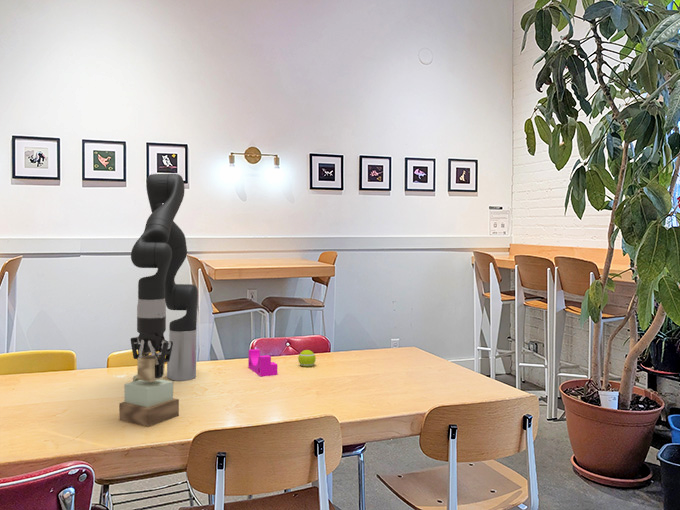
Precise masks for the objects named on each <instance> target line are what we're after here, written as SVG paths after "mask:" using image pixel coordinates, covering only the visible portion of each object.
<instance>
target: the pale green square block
mask: <svg viewBox="0 0 680 510" xmlns="http://www.w3.org/2000/svg"><path fill="white" fill-rule="evenodd" d="M123 391H124V395H123V396H124V399H123V402H126V403H130V404H135V405H139V406H143V407H150V406H154V405H157V404H160V403H163V402H166V401H169V400H173V398H174V381H173V380H166V379H159V380H156V381H152V382H149V381H143V380H138V381H134V382H133V381H129V382H126V383H124V390H123Z"/></svg>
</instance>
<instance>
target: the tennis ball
mask: <svg viewBox="0 0 680 510" xmlns="http://www.w3.org/2000/svg"><path fill="white" fill-rule="evenodd" d="M297 360H298V363H299V364H300V366H301V367H304V368H311V367H312V366H314V364H315V363H316V355H315V353H314V351H312V350H309V349H305V350H302V351H301V352H300V353H299V354H298V358H297ZM310 366H311V367H310Z"/></svg>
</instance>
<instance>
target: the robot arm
mask: <svg viewBox="0 0 680 510" xmlns="http://www.w3.org/2000/svg"><path fill="white" fill-rule="evenodd" d="M145 182H146V183H145V187H146V194H147V200H148V203H149V206H150V207H149V208H150V211H151V214H149V216H148V218H147V220H146V223H145V227H144V230H143V233H142V234H141V235H140V236H139V238H138V239H137V240H136V242H135V243H134V245H133V246H132V249H131V252H130V259H131V263H132V265H134V267H137V268H140V269H157V270H156V272H155V274H153V275H149V276H144V277H141V278H139V280H138V283H137V298H138V299H137V305H136V331H137V333H139V335H138V336H135V337H131V338H130V345H131V346H130V347H131V350H132V351H131V352H132V358H133V359H134V360H137V361H138V357H143V356H148V355H152V357H154V359H155V364H156V365H155V378H161V377H162V375H163V364H164V363H166V378H167V379H169V380H170V381H178V382H180V381H182V382H183V381H190V380H194V379H196V377H197V323H198V322H197V321H198V319H197V318H198V317H197V315H198V303H199V300H198V297H199V295H198V294H199V292H198V288H197V286H196V285H195V284H189V283H188V284H187V283H185V284H183V283H176V282H175V278H176V275H177V273H178V271H179V270H180V268H181V267H182V265H183V263H184V262H185V260H186V258H187V255H188V245H187V240H186V236H185V233H184V232H183V230H182V229H181V228H180V227H179V225H178V224H177V223H176V222H175V221H174V220H175V218H176V216H177V213H178V211H179V210H180V208H181V205H182V203H183V200H184V197H185V183H184V179H183V177H182V175H181V174H178V173H153V174H152V173H151V174H149V175H148V176H147V177H146V181H145ZM167 309H168V310H171V311H186V313H185V315H184V316H182V317H180V318H176V319H174V320H171V321H170V322H169V329H168V332H169V335H168V336H169V337H168V338H169V340H166V339H165V336H164V334H165V332H166V329H167V328H166V327H167V322H166V321H167ZM158 356H159V358H160V360H159V358H158Z"/></svg>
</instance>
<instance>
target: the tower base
mask: <svg viewBox="0 0 680 510" xmlns="http://www.w3.org/2000/svg"><path fill="white" fill-rule="evenodd" d="M179 406H180V399H178V398H174V397H173V400H169V401H166V402H163V403H160V404H157V405H154V406H150V407H143V406H139V405H135V404H130V403H126V402H124V401H122V402H120V403H119V410H118V411H119V415H118V417H119V418H118V420H119V421H121V422H125V423H130V424H134V425H138V426H139V425H140V426H142V427H148V428H150V427H152V426H155V425H157V424H160V423H163V422H166V421H169V420H172V419H173V418H176V417H179V416H180V415H179V414H180V407H179Z"/></svg>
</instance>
